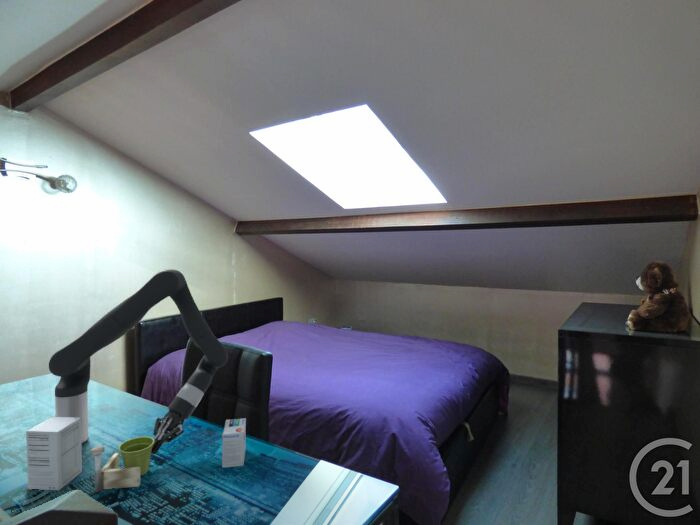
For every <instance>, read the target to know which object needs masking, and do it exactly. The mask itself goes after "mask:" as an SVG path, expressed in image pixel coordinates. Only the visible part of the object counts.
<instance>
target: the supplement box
mask: <svg viewBox="0 0 700 525" xmlns="http://www.w3.org/2000/svg"><path fill="white" fill-rule="evenodd" d="M25 435H26V441H25V442H26V463H27V464H26V466H27V467H26V470H27V471H26V472H27V489H28V490H32V489H39V490H40V491H60V490H61V489H62V488H64V487H65V486H66V485H68V483H71V481H72V480H74V479H75V478H76V477H77V476H78V475H80V474H81V473H82V472H83V456H82V455H83V454H82V452H83V451H82V447H83V446H82V444H83V443H82V444H81V418H75V417H55V416H52V417H49V418H47V419H46V420H44V421H43V422H41V423H39V424H36V425H35V426H34V427H32V428H30V429H28V430H26V434H25ZM39 490H38V491H39Z"/></svg>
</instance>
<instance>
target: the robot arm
mask: <svg viewBox="0 0 700 525" xmlns="http://www.w3.org/2000/svg"><path fill="white" fill-rule="evenodd" d="M187 282H188V281H187V280H186V278H185V276H184V274H183V273H182V272H181V271H179V270H177V269H163V270H159V271H158V272H157V273H155V274H154V275H153V276H152V277H151V278H150V279H149V280H148V281H147V282H146V283H145V284H144V285H143V286H142V287H141V288H139V290H137V291H136V292H135V293H133V294H132V295H131V296H129V297H127V298H126V299H124V300H123V301H122V302H120V303H119V304H118V305H116V306H115V307H113V308H112V309H111V310H109V311H108V312H107V313H105V314H104V315H103V316H102V317H101V318H99V320H97V321H96V322H95V323H94V324H93V325H91V326H90V328H88V329H87V330H86V331H84V332H83V334H82V335H80V336H79V337H78V338H77V339H75V340H74V341H72V342H70V343H69V344H67V345H66V346H64V347H63V348H61V349H60V350H57V351H56V352H54V353H53V355H52V356H51V357H50V359H49V362H48V370H49V372H50V373H51V374H52V375H54V376H55V377H60V378H59V381H58V383H57V384H56V386H55V387H54V410H55V411H54V413H55V416H54V417H75V418H81V444H83V443H85V442H86V441H88V439H89V398H88V397H89V395H88V394H89V392H88V389H89V388H88V386H89V383H90V378H91V357H92V356H93V355H94V354H96V353H98V352H99V351H101V350H102V349H103V348H106V347H108V346H109V345H111V344H112V343H114V342H116V341H117V340H118V339H120V338H122V337H123V336H125V335H126V334H127V333H129V331H131V330H132V329H133V328H135V327H136V326H137V325H138V324H139V323H140V322H141V320H143V318H144V317H145V316H146V315H147V313H148V312H149V311H150V310H151V309H152V308H153V307H155V306H156V305H157V304H159V303H160V302H162V301H163V300H164V299H167V298H168V297H170V299H171V300H172V301H173V302H174V304H175V306H176V307H177V309H178V311H179V314H180V317H181V320H182V322H183V326H184V328H185V330H186V332H187V334H188V335H189V338H190V339H191V341H192V342H193V344H194V345H195V346H196V347H197V348H199V349H200V350H201V351H202V353H203V354H204V355H203V356H202V358H201V359H200V361H199V363H198V365H197V367H196V368H195V370H194V372H193V373H192V374H191V376H190V377H189V378H188V379H187V381H186V382H185V384H184V385H183V386H182V387H181V389H180V390H179V392H177V394H176V395H175V397H174V398H173V400H172V401H171V403H170V404H169V405H168V408H167V410H168V412H166V413H165V414H164V416H163V417H161V418H160V417H157V418H156V419H155V425H154V429H153V432H152V435H153V436H154V444H153V447H152V450H151V455H156V454H157V453H158V452H159V451H160V449H161V447H162V445H163V444H165V443H168V444H169V443H171V442H172V441H174V440H175V439H176V438H177V437H179V436H181V435H182V434H183V433H184V432H185V430H184V429H183V427H182V426H183V424H184V422H185V420H188V419H190V418H191V415H192V414H193V412H194V411H195V409H196V408H197V407H198V405H199V403H200V402H201V400H202V398H203V396H204V395H205V393H206V391H207V390H208V389H209V387H210V385H211V384H212V381H213V377H214V376H215V374H216V372H217V371H218V370H219V369H220V368H222V367H224V366H225V365H226V364H227V363H228V360H229V353H228V351H227V350H226V348H225V345H223V344H222V342H221V341H220V340H219V339H218V338H217V337H216V336H215V335H214V333H213V331H212V329H211V328H210V326H209V324H208V322H207V321H206V320H205V318H204V316H203V315H202V312H201V311H200V310H199V308H198V306H197V303H196V302H195V299H194V297H193V295H192V293H191V291H190V288H189V285H188V283H187Z"/></svg>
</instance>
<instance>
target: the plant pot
mask: <svg viewBox="0 0 700 525" xmlns="http://www.w3.org/2000/svg"><path fill="white" fill-rule="evenodd" d="M154 440H155V438H154V437H150V436H137V437H133V438H131V439H127V440H125V441H124V442H122V443H121V444H120V445H119V446H118V451H119V452H120V454H121V456H122V462H123V468H131V467H140V476H144V475H146V474H147V473H148V472H149V470H150V464H151V463H150V462H151V456H152V453H151V450H152V447H153V444H154Z"/></svg>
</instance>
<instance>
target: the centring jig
mask: <svg viewBox="0 0 700 525" xmlns="http://www.w3.org/2000/svg"><path fill="white" fill-rule="evenodd" d="M105 447H106V446H103V445H98V446H97V445H96V446H94V447H92V448H91V449H90V454H91V456H92V455H94V457H93V458H94V460H93V461H94V463H93V464H94V492H95V493H99V492H102V491H103V490H113V489H112V488H115V489H123V488H125V489H126V488H134V487H135V488H136V487H140V485H141V475H140V467H131V468H125V467H122V468H120V453H119V452H116V453H113V455H112V456H111V457H110V458H109V460H108V461H107V462H106V464H105V465H104V466H103V467H102V453H104V452H105V449H106V448H105Z"/></svg>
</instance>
